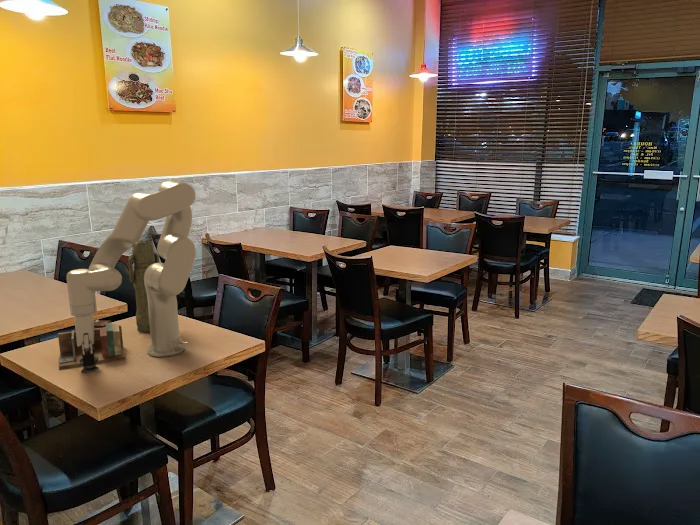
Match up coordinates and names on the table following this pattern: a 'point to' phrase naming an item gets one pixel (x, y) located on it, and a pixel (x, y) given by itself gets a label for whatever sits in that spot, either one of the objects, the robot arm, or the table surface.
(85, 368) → the dark grey chess piece
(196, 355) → the table surface
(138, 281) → the robed figure statue
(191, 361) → the table surface
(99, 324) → the box
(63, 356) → the bookend
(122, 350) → the shelf
